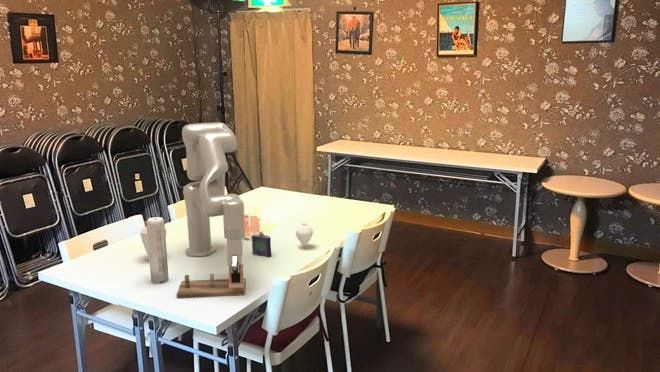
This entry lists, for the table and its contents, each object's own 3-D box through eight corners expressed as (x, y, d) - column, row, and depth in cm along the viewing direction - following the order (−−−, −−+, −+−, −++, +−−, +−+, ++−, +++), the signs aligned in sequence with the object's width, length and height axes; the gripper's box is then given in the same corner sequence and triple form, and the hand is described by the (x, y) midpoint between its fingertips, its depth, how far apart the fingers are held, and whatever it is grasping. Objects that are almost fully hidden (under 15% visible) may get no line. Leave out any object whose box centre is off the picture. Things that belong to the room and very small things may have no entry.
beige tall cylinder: (170, 277, 217) (166, 216, 211) (166, 283, 210) (161, 221, 205) (153, 277, 217) (148, 216, 211) (149, 284, 210) (143, 221, 204)
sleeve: (229, 282, 208) (229, 264, 206) (244, 281, 209) (243, 264, 207) (228, 288, 203) (228, 270, 201) (243, 287, 204) (242, 269, 202)
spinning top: (314, 245, 252) (313, 220, 249) (311, 251, 245) (311, 225, 242) (297, 244, 253) (297, 219, 250) (294, 250, 245) (294, 224, 243)
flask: (251, 254, 241) (250, 231, 238) (254, 252, 243) (254, 229, 241) (269, 258, 237) (268, 234, 234) (272, 255, 239) (272, 232, 237)
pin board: (181, 284, 210) (180, 269, 208) (245, 281, 212) (245, 267, 211) (176, 298, 198) (175, 282, 197) (244, 295, 201) (243, 279, 199)
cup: (160, 265, 229) (158, 234, 226) (137, 263, 231) (135, 232, 228) (172, 256, 239) (170, 226, 236) (150, 254, 241) (148, 224, 238)
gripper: (225, 225, 209) (227, 269, 213) (222, 241, 192) (224, 288, 196) (245, 225, 210) (247, 268, 214) (244, 240, 193) (245, 287, 197)
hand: (236, 277), depth 205 cm, fingers open, 7 cm apart
